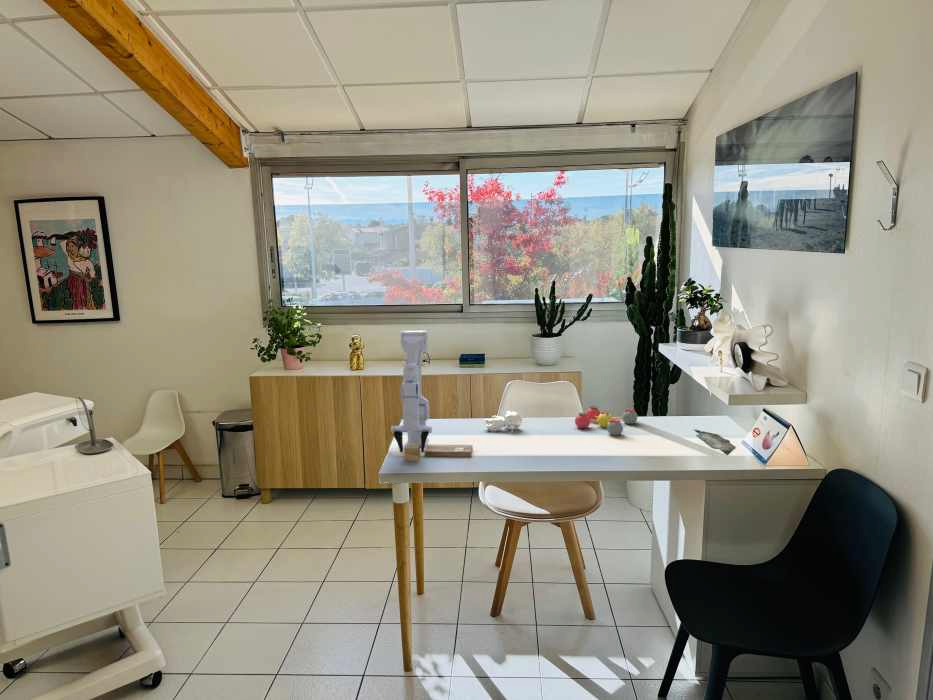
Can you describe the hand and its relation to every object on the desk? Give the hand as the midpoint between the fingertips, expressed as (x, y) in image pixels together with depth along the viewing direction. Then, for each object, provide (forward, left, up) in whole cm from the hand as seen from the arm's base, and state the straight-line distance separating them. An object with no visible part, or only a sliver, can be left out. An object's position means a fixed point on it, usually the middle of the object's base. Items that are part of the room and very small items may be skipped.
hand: (412, 451), depth 234 cm
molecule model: (-43, +74, -4) cm, 86 cm away
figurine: (-38, +32, -3) cm, 50 cm away
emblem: (-24, +114, -3) cm, 116 cm away
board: (-8, +12, -3) cm, 15 cm away
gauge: (-2, 0, -3) cm, 3 cm away
